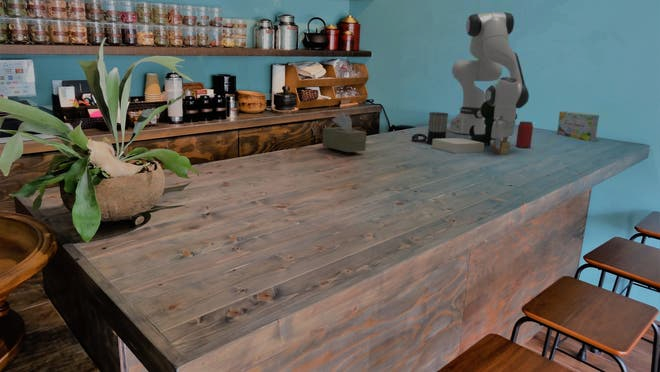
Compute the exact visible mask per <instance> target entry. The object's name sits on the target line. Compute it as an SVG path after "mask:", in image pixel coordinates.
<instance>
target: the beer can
mask: <svg viewBox="0 0 660 372" xmlns="http://www.w3.org/2000/svg"><path fill="white" fill-rule="evenodd" d="M533 129H534V125H533V121H526V120H525V121H519V123H518V126H517V135H516V143H515V145H516V147H517V148H525V149H527V148H531V144H532V138H533V137H532V136H533Z"/></svg>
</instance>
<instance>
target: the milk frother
mask: <svg viewBox="0 0 660 372" xmlns="http://www.w3.org/2000/svg"><path fill="white" fill-rule="evenodd" d="M428 115H429V117H428V118H429V119H428V128H427V129H428V132H427V135H426V134H424V133H415V134H413V135H412V136H411V140H412V141H414V142H418V143H423V142H426V144H428V145H432V142H433V139H444V138H447V128H448V117H449V113H447V112H441V111H440V112H437V111H434V112H433V111H432V112H429V114H428ZM419 137H422V138H423V139H419Z"/></svg>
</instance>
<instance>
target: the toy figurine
mask: <svg viewBox="0 0 660 372" xmlns="http://www.w3.org/2000/svg"><path fill="white" fill-rule="evenodd" d="M494 110H495V106H490V105H489V104H488V103H487V102H486V101H485V100H484V103H483V104H482V106H481V108H480V112H481V115H482V116H483V118H484V131H485V133H484V134H475V133H474V125H473V126H472V127H471V128H470V130H469V134H468V135H469V136H470V137H471V138H470V140H473V141H477V142H482V143H484V147H486V146H491V145H492V142H491V141H495V139H493V138H491V133H492V126H493V123H494V121H496V120H495V119H494Z"/></svg>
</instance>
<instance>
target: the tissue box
mask: <svg viewBox="0 0 660 372" xmlns="http://www.w3.org/2000/svg"><path fill="white" fill-rule="evenodd" d="M332 121H333V122H334V123H335V124H336V125H337V126H338V127H337V126H335V127H333V126H332V127H323V129H322V146H323V147H325V148H330V149H333V150H337V151H340V152H344V153H353V152H354V153H355V152H356V153H357V152H365V151H366V144H367V142H366V141H367V140H366V139H367V132H366V131H362V130H358V129H357V130H356V129H353V127H352V126H353V124H352V119H351V116H350V115H346V114H345V112H344V111H342V112H340V114H338V115H336V116H335V117H334V118H332Z"/></svg>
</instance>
